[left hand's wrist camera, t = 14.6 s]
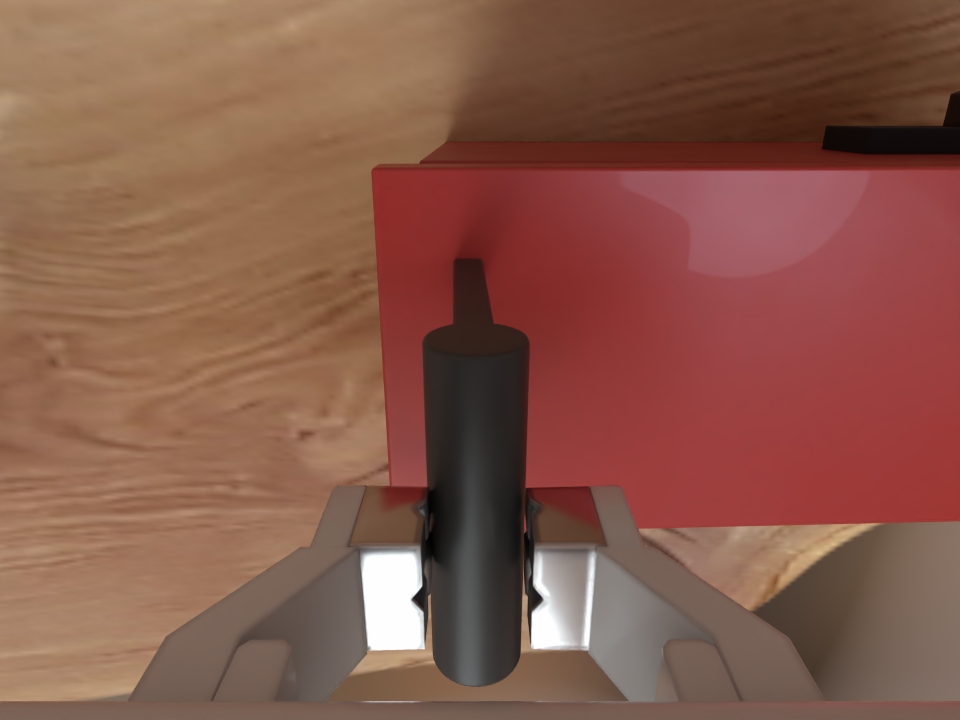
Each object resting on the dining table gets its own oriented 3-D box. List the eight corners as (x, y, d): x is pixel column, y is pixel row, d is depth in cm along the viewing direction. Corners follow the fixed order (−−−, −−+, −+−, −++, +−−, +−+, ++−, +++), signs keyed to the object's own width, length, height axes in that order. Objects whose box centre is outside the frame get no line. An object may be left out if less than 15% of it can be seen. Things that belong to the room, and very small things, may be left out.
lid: (396, 510, 19) (358, 771, 12) (376, 163, 16) (304, 214, 8) (970, 498, 20) (1289, 738, 12) (1080, 161, 16) (1630, 208, 9)
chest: (449, 368, 30) (429, 492, 20) (445, 141, 26) (418, 160, 16) (813, 370, 29) (970, 497, 20) (860, 142, 26) (1080, 161, 16)
